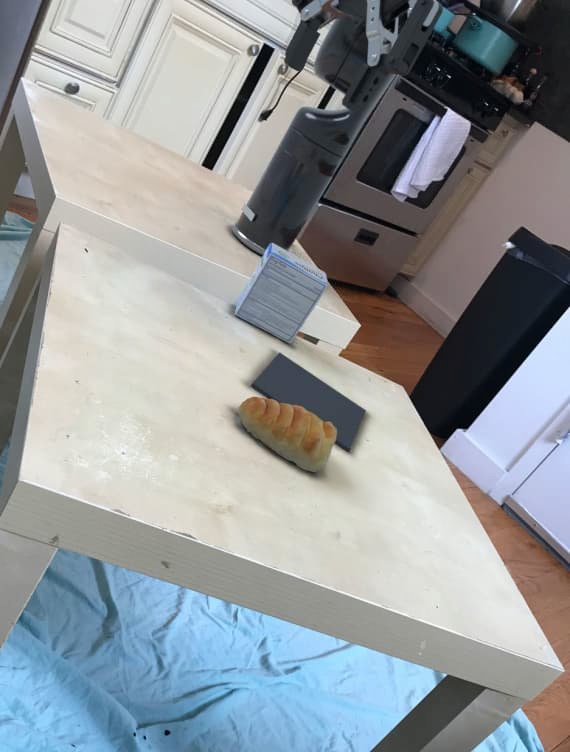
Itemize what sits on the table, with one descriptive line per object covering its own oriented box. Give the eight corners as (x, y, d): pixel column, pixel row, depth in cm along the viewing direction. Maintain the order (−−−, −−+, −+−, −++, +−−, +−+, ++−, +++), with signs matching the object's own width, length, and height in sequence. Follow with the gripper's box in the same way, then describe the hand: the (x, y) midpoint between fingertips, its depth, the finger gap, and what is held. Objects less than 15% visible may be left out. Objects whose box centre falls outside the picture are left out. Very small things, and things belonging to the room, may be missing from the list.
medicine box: (289, 332, 94) (327, 272, 90) (290, 346, 90) (329, 285, 86) (234, 302, 92) (270, 240, 88) (233, 315, 89) (270, 251, 84)
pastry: (231, 433, 66) (252, 400, 64) (235, 400, 72) (255, 368, 70) (321, 480, 68) (344, 449, 66) (318, 444, 74) (340, 414, 72)
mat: (277, 355, 86) (279, 352, 86) (364, 413, 86) (366, 410, 86) (250, 385, 76) (252, 382, 76) (348, 452, 76) (350, 449, 75)
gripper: (505, -53, 62) (389, 134, 71) (389, -113, 68) (295, 66, 77) (468, -96, 57) (347, 112, 65) (345, -156, 63) (249, 41, 71)
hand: (319, 87), depth 71 cm, fingers open, 8 cm apart
